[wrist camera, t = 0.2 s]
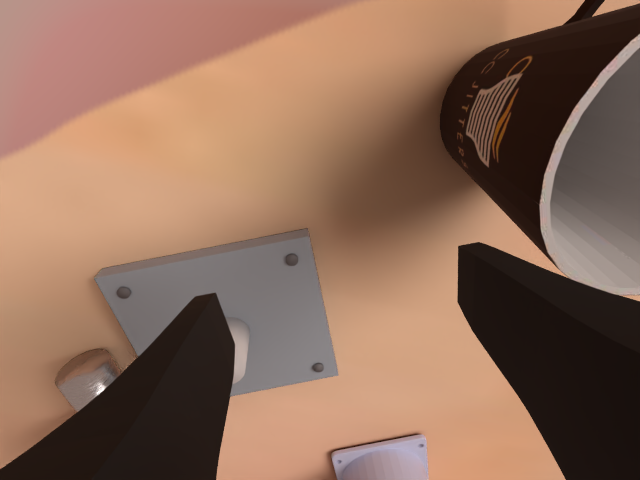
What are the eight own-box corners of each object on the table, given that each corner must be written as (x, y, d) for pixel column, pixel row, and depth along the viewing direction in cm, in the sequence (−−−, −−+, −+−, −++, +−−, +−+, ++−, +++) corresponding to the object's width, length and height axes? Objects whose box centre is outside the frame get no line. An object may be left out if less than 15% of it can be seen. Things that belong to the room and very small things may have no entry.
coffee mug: (495, 217, 21) (643, 333, 13) (384, 135, 19) (475, 210, 10) (669, 31, 18) (1062, 9, 9) (562, -108, 15) (982, -350, 6)
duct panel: (336, 364, 26) (344, 413, 22) (171, 396, 26) (153, 451, 22) (307, 228, 21) (312, 264, 17) (101, 268, 21) (64, 313, 17)
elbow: (186, 433, 28) (163, 523, 22) (119, 446, 28) (80, 539, 22) (135, 340, 23) (91, 425, 18) (54, 356, 23) (-14, 446, 18)
